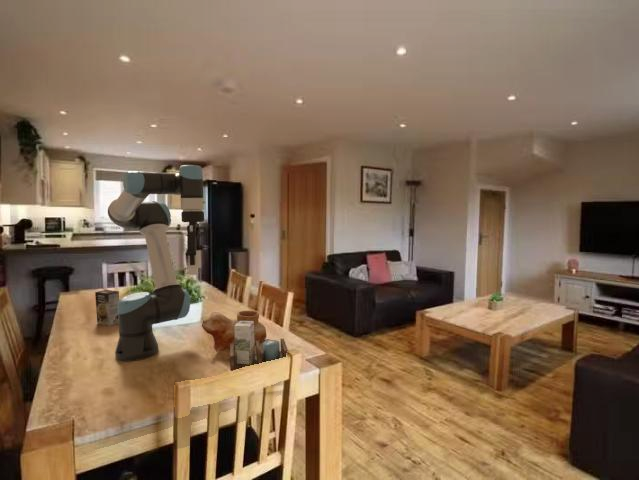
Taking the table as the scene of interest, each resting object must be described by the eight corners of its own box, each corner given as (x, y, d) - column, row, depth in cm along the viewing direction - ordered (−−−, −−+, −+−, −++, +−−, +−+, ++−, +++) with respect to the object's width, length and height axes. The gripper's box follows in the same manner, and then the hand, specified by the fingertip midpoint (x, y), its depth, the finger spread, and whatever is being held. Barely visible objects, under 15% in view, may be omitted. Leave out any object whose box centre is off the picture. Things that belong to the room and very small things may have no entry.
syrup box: (255, 358, 134) (254, 320, 132) (251, 365, 128) (249, 325, 126) (240, 358, 134) (239, 320, 133) (235, 365, 128) (233, 325, 127)
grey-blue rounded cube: (264, 362, 130) (263, 346, 129) (262, 356, 136) (262, 340, 135) (280, 361, 131) (280, 344, 131) (278, 354, 137) (278, 338, 136)
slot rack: (230, 373, 124) (229, 356, 124) (230, 359, 136) (230, 343, 136) (288, 367, 129) (287, 350, 128) (283, 353, 141) (283, 338, 140)
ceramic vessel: (200, 345, 151) (199, 310, 149) (261, 335, 162) (260, 302, 160) (205, 357, 138) (203, 319, 137) (271, 345, 149) (270, 310, 148)
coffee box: (96, 324, 180) (94, 292, 178) (108, 320, 186) (106, 289, 184) (109, 326, 176) (107, 293, 175) (121, 322, 182) (119, 290, 181)
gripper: (200, 210, 114) (203, 277, 116) (206, 210, 138) (209, 265, 140) (175, 211, 113) (178, 278, 115) (186, 210, 137) (188, 265, 139)
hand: (195, 271), depth 127 cm, fingers open, 13 cm apart
